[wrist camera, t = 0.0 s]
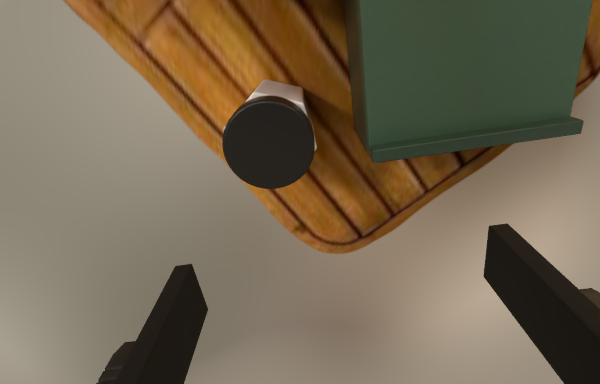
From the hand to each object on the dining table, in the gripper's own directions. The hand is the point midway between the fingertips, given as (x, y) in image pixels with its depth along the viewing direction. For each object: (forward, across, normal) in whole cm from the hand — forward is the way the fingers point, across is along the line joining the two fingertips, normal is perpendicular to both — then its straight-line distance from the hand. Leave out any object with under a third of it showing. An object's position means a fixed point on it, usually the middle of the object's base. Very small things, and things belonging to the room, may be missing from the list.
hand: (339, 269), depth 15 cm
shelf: (+28, +14, +6) cm, 32 cm away
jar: (+28, -4, +1) cm, 29 cm away
